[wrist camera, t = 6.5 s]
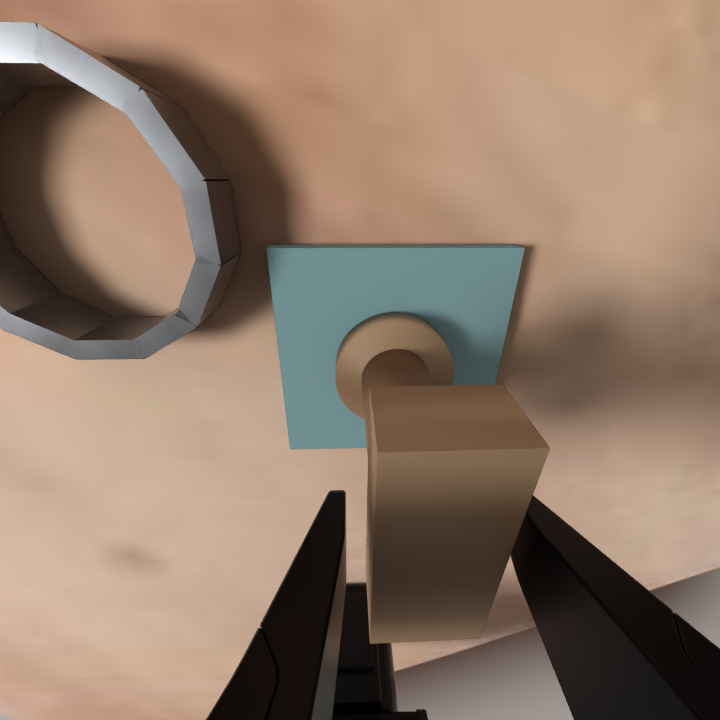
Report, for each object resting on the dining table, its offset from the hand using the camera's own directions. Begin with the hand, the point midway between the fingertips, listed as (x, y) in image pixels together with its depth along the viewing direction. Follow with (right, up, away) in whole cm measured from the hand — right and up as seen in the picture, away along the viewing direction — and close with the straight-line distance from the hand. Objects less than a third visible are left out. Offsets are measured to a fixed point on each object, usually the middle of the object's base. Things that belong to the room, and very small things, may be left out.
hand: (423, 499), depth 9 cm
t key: (0, +3, +7) cm, 7 cm away
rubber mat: (0, +4, +7) cm, 8 cm away
